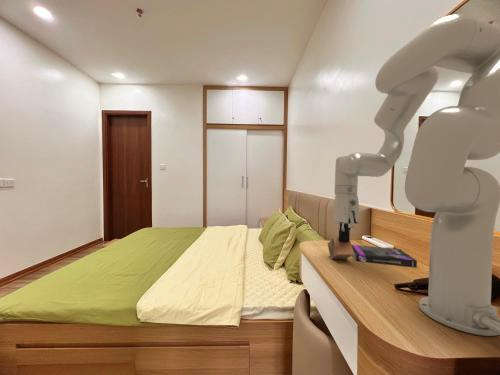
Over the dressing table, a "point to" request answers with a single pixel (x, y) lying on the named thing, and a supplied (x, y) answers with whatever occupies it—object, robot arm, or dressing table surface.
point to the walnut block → (340, 249)
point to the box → (383, 256)
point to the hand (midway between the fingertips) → (343, 241)
